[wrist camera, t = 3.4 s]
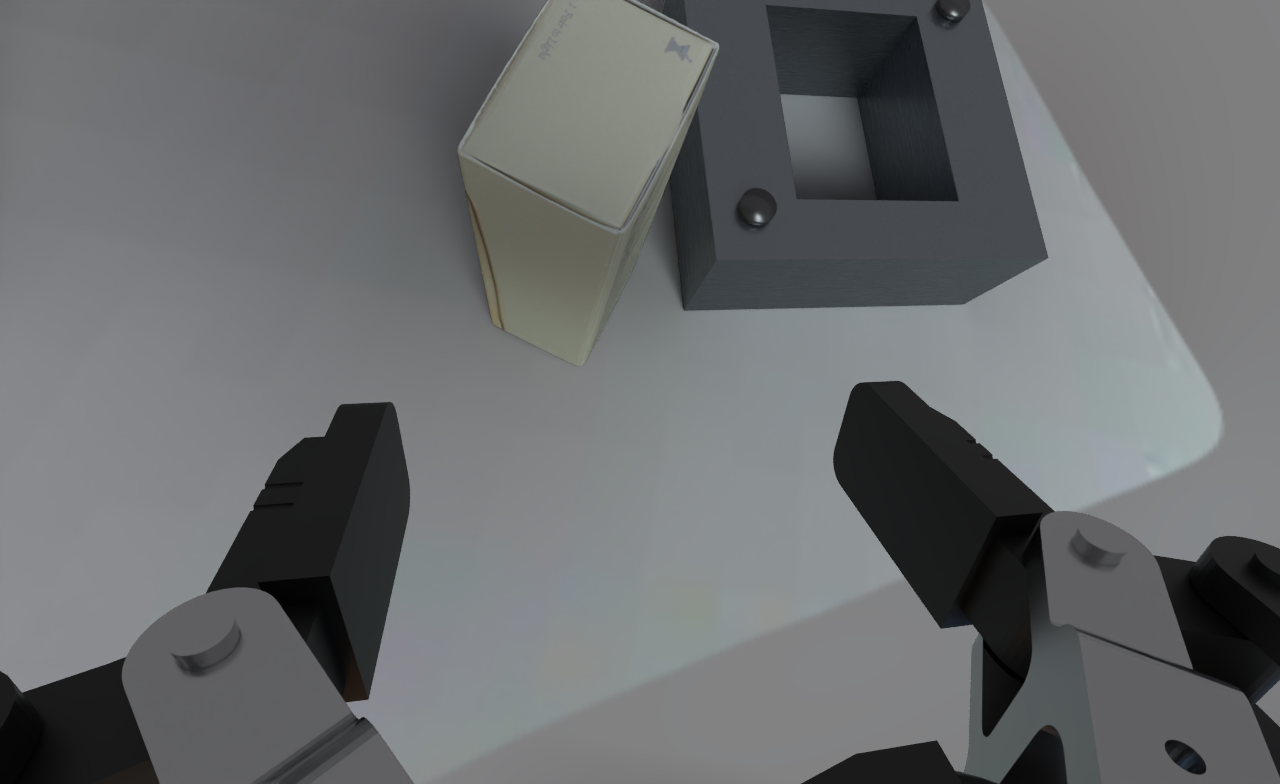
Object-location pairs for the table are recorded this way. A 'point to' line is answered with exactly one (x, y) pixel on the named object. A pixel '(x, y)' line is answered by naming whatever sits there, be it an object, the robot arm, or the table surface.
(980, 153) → the housing
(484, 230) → the skincare box
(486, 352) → the table surface
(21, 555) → the table surface
